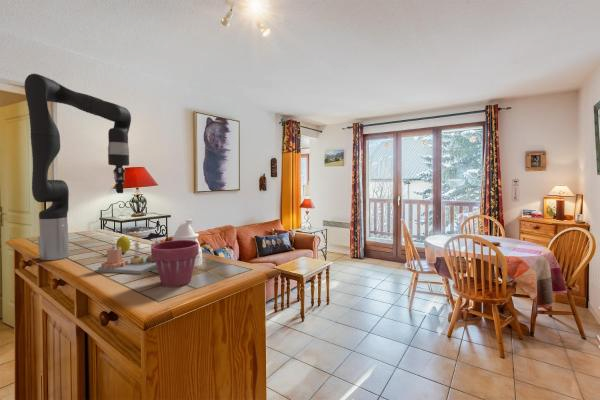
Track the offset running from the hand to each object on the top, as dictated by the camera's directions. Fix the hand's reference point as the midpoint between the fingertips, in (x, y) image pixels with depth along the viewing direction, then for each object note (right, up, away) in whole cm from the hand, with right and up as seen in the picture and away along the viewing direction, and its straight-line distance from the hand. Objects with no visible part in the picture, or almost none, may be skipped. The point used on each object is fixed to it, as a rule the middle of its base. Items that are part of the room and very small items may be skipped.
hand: (119, 192), depth 126 cm
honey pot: (+30, -29, -6) cm, 42 cm away
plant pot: (+35, -31, -28) cm, 54 cm away
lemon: (-4, -28, +10) cm, 30 cm away
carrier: (+12, -29, -9) cm, 33 cm away
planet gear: (+6, -28, -13) cm, 32 cm away
